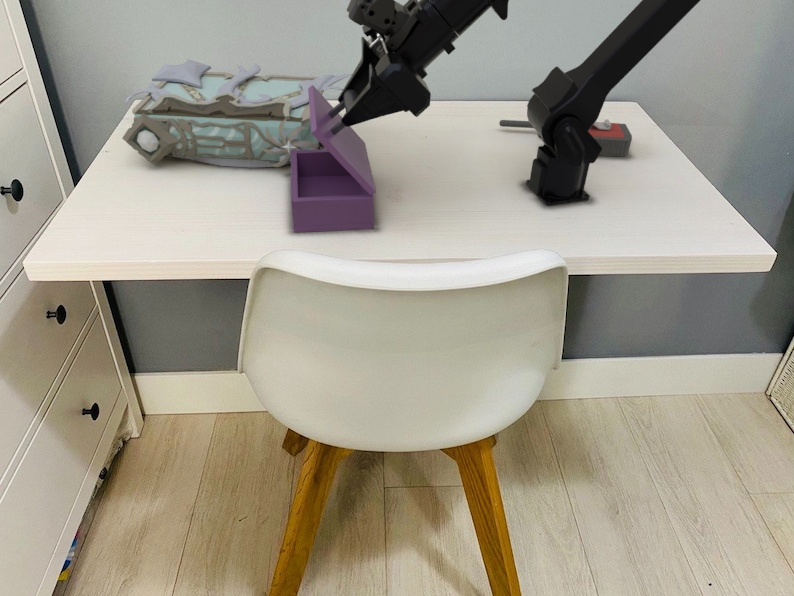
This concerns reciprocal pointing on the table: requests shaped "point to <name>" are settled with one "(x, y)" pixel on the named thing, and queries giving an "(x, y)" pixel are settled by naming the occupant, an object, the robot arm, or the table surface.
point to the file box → (327, 194)
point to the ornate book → (225, 116)
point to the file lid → (340, 136)
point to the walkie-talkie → (596, 135)
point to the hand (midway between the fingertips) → (342, 112)
